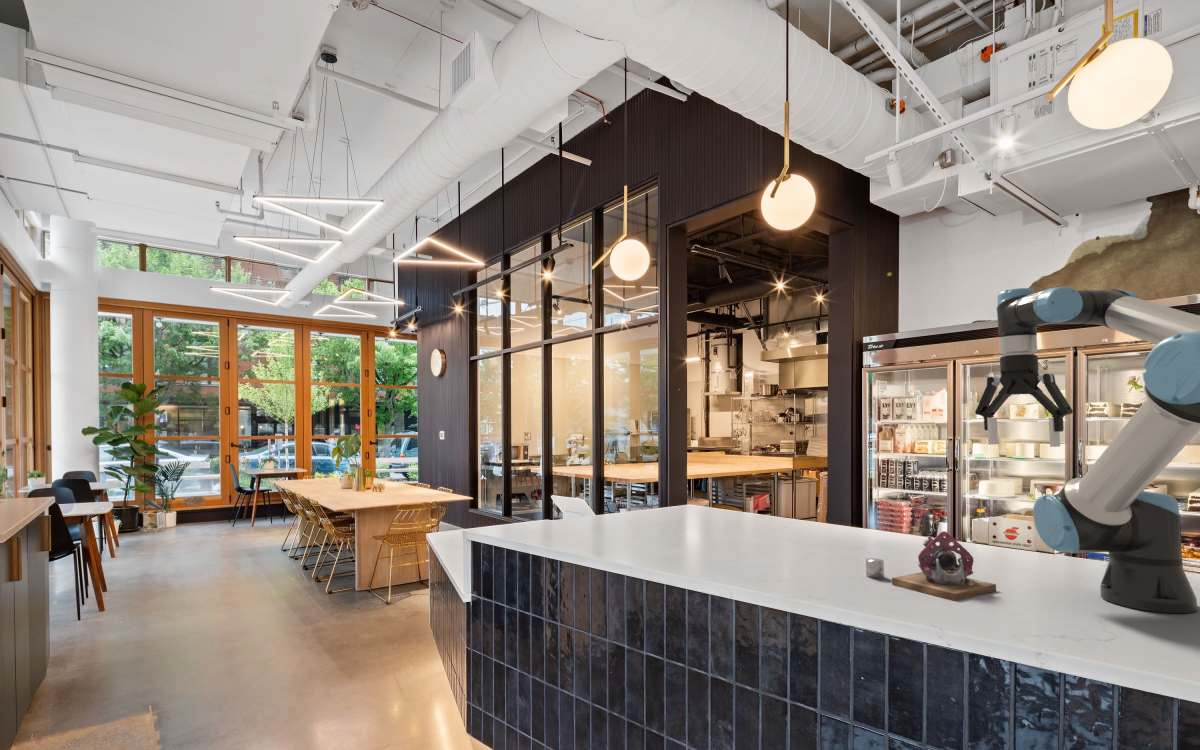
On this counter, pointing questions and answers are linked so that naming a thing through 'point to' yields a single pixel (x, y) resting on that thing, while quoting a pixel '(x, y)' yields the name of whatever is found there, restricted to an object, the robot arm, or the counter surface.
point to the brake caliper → (945, 561)
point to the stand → (943, 587)
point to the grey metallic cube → (874, 568)
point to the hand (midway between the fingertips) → (1022, 445)
